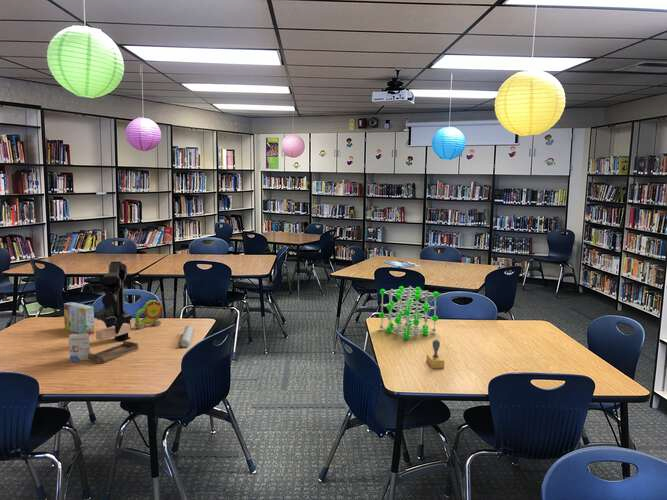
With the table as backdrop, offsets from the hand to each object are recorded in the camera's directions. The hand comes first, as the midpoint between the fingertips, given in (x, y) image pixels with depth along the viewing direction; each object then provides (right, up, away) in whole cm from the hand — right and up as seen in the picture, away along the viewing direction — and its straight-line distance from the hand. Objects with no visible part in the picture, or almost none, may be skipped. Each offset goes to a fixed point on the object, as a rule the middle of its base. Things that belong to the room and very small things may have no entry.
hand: (113, 333), depth 248 cm
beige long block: (0, -1, 0) cm, 1 cm away
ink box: (-14, -12, -5) cm, 19 cm away
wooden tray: (0, -11, +1) cm, 11 cm away
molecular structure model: (+148, -7, +47) cm, 156 cm away
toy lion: (0, -5, +50) cm, 50 cm away
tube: (+28, -8, +25) cm, 39 cm away
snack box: (-36, -6, +40) cm, 54 cm away
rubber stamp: (+154, -14, -6) cm, 154 cm away
